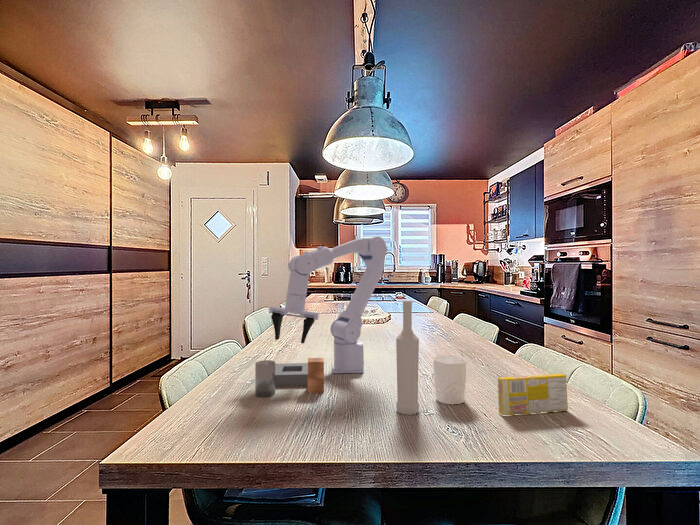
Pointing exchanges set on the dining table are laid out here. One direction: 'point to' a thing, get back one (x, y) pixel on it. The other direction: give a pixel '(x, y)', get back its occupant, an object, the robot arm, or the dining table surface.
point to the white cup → (450, 379)
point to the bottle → (407, 365)
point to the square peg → (315, 375)
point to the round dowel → (265, 378)
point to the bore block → (291, 374)
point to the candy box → (532, 394)
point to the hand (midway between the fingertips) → (289, 341)
